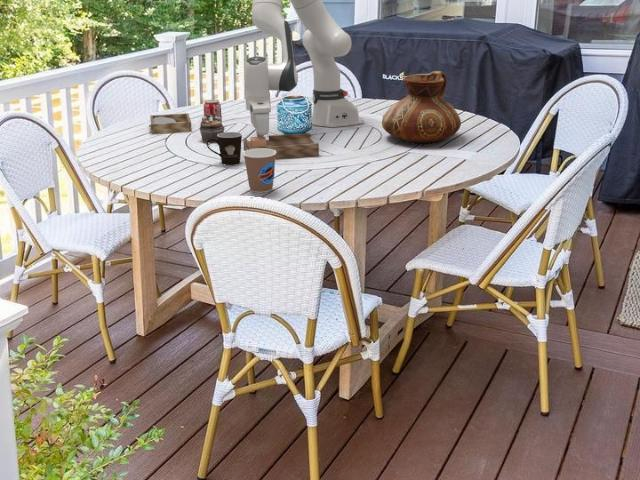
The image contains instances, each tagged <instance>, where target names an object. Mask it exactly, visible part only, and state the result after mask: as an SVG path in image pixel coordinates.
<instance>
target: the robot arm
mask: <svg viewBox="0 0 640 480" xmlns="http://www.w3.org/2000/svg"><path fill="white" fill-rule="evenodd" d="M289 1H290V3H291V5H292V7H293V9H294V11H295V13H296V15H297V17H298V19H299V21H300V22H301V24H302V25H303V27H305V28H306V30H305V32H304V33H303V36H302V45H303V47H304V49H305V50H306V51H307V54H308V56H309V59H310V62H311V65H312V72H313V89H312V102H313V107H312V108H313V109H312V115H311V119H312V125H313V126H320V127H328V128H337V127H338V128H339V127H347V126H356V125H363V124H364V123H365V120H364V118H363V117H361V116H360V115H359V110H358V108H357V106H356V105H355V104H354V103H352V102H351V101H350V100H348V99H347V98H346V97H347V96H348V95H349V92H348V90H344V89H342V88H341V69H340V68H339V66H338V64H337V63H336V60H335V58H340V57H344V56H346V55H347V54H348V53H349V52H350V51H351V48H352V39H351V36H350V35H349V34H348V33H347V32H346V31H345V30H344V29H342V28H341V27H340V26H339V24H338V23H337V22H336V21H335V20H334V18H333V17H332V16H331V14H330V13H329V11H328V10H327V8H326V7H325V4H324V1H322V0H289ZM251 20H252V23H253V25H254V26H255V28H257V29H258V30H259V31H261V32H262V33H263V34H266V35H269V36H272V37H274V38H276V39H278V40H279V41H280V43H281V53H282V59H283V60H282V62H281V63H268V59H267V58H265V57H264V56H259V55H257V56H252V57H249V58H247V59H246V60H245V64H244V86H245V89H246V90H245V109H246V110H247V111H249V114H250V123H251V125H252V127H253V128H254V130H255V133H256V137H262V136H264V135H269V131H270V113H271V111H272V110H271V109H272V106H271V104H272V103H271V93H270V91H280V92H287V93H288V92H291V91H292V90H294V89H295V88H296V87H297V85H298V81H299V75H298V70H297V66H296V59H295V52H294V50H295V49H294V43H293V42H294V41H293V36H292V30H291V25H290V24H289V21H287V20H285V18H284V16H283V0H252V6H251Z"/></svg>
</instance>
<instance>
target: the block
mask: <svg viewBox="0 0 640 480" xmlns="http://www.w3.org/2000/svg"><path fill="white" fill-rule="evenodd" d="M266 140H267V138H266V136H264V135H263V136H262V137H257V136H251V137H250V140H249V141H251V147H267V145H266Z"/></svg>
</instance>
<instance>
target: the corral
mask: <svg viewBox="0 0 640 480" xmlns="http://www.w3.org/2000/svg"><path fill="white" fill-rule="evenodd" d="M149 117H150V129H151V130H150V131H151V135H161V134H162V135H165V134H178V133H191V132H192V121H191V117H190V115H189V113H186V112H185V113H171V114H169V113H168V114H154V115H152V114H151V115H149ZM157 117H166V118H172V119H174V120H175V121H176V123H160V124H153V119H154V118H157Z"/></svg>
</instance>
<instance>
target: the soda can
mask: <svg viewBox="0 0 640 480" xmlns="http://www.w3.org/2000/svg"><path fill="white" fill-rule="evenodd" d="M221 105H222V104H221V103H220V100H219V99H206V100H205V101H204V103H203V117H204V116H207V115H210V114H212V115H213V116H215V115H218V116H219V117H221V119H220V121H221V122H222V123H223V121H222V120H223V119H222V117H223V116H222V106H221Z"/></svg>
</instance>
